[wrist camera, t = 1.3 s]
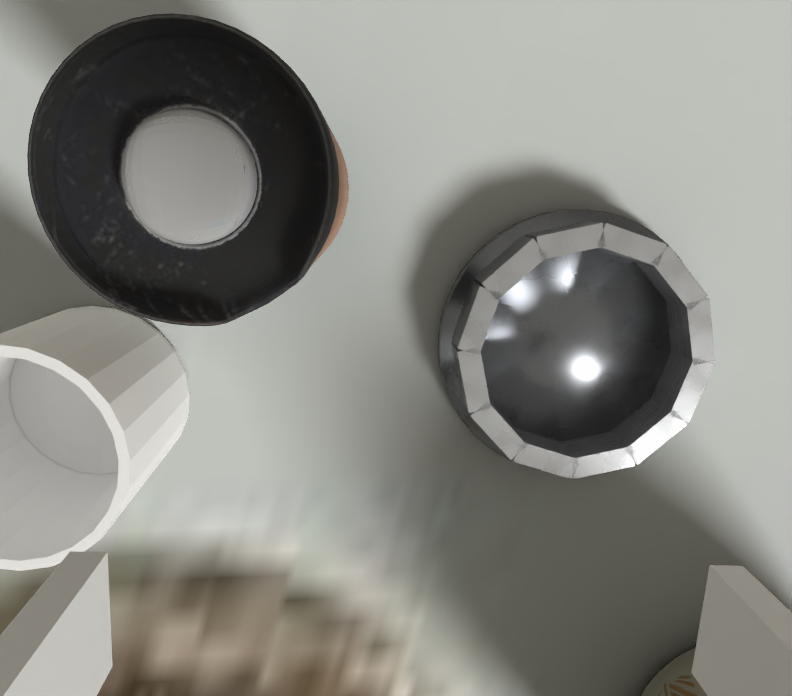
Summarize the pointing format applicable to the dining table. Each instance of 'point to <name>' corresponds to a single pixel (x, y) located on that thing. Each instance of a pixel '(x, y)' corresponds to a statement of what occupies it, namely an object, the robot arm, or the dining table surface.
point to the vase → (676, 679)
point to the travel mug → (184, 170)
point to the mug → (80, 427)
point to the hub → (576, 343)
